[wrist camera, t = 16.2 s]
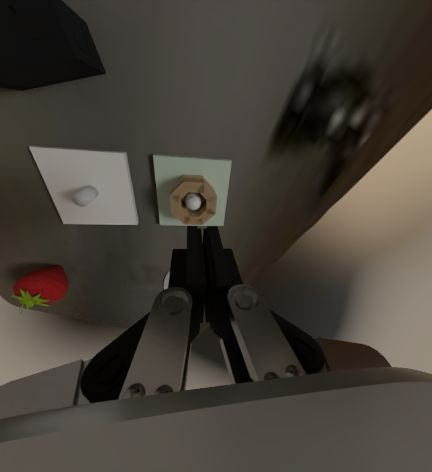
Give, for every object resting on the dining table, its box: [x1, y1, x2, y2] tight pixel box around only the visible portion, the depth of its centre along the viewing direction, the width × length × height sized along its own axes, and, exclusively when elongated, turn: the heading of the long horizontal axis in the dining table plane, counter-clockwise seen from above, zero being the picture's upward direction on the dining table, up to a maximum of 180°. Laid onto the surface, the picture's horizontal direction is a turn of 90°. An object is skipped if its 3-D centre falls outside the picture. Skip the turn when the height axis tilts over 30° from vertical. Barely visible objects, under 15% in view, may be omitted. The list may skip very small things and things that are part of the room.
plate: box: [153, 154, 232, 226], centre depth 29 cm, size 12×12×5 cm
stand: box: [29, 146, 138, 225], centre depth 27 cm, size 12×12×4 cm
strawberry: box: [11, 266, 69, 314], centre depth 32 cm, size 6×8×10 cm
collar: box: [170, 174, 217, 225], centre depth 29 cm, size 7×7×4 cm
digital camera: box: [0, 0, 106, 90], centre depth 17 cm, size 10×5×7 cm, turn 100°
